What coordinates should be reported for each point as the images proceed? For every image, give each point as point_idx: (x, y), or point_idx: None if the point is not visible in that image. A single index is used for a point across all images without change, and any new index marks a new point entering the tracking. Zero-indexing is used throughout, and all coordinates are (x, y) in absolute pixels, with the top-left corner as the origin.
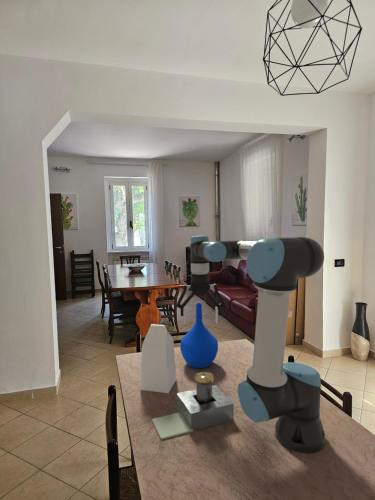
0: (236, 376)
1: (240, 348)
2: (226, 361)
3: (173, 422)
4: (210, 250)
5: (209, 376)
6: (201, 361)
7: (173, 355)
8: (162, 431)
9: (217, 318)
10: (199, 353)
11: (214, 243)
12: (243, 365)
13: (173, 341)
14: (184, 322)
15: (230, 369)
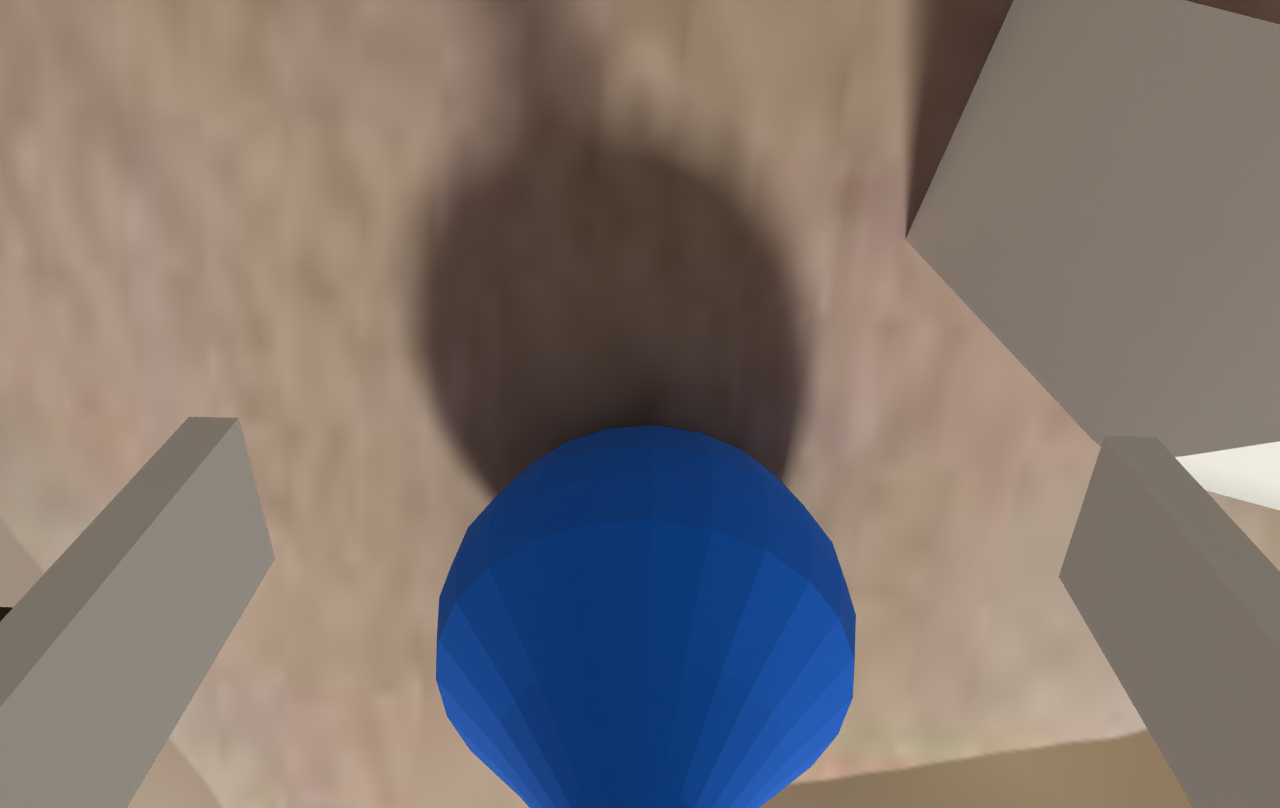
0: (314, 266)
1: (280, 735)
2: (403, 540)
3: None
4: None
5: None
6: (638, 430)
7: (1029, 311)
8: None
9: (124, 506)
10: (659, 464)
11: None
12: (250, 462)
13: (1094, 437)
14: (1158, 471)
15: (369, 400)
